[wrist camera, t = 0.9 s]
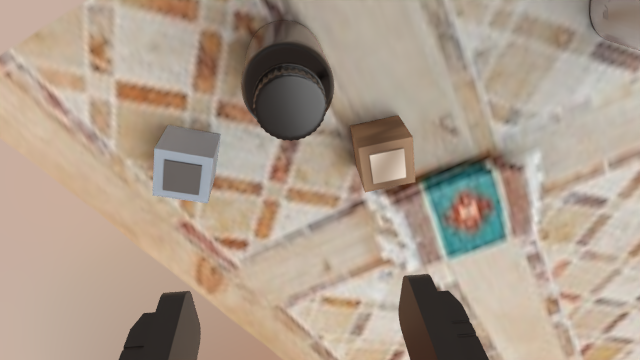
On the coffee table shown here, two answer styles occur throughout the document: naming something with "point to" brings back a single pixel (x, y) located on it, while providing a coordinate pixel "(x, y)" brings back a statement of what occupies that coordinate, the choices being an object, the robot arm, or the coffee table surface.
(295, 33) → the supplement bottle
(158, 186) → the slate-blue block
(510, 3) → the coffee table surface
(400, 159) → the walnut block
